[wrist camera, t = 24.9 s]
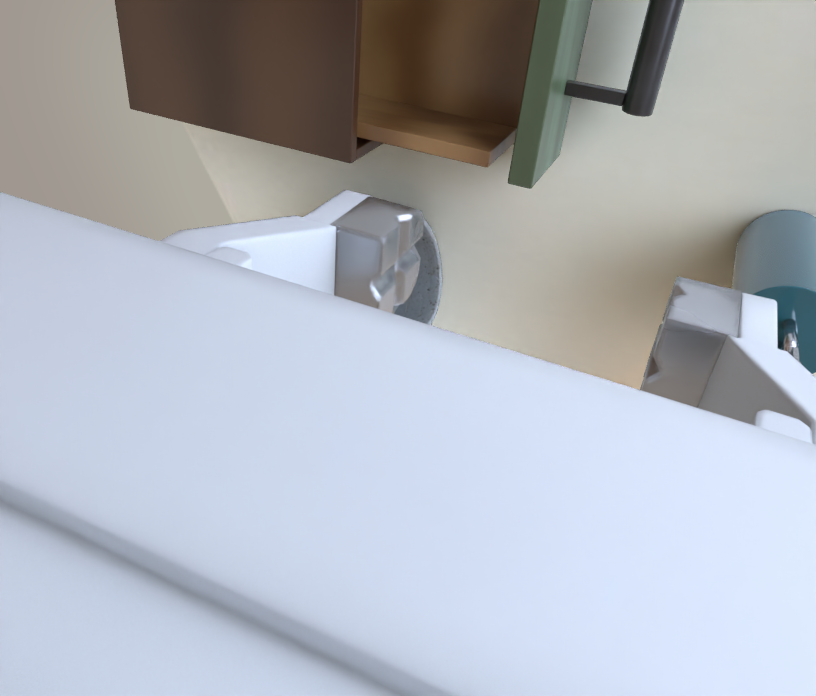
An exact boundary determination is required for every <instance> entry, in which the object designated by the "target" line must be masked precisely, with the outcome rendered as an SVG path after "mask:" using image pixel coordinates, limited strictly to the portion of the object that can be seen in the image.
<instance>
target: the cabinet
mask: <svg viewBox="0 0 816 696" xmlns="http://www.w3.org/2000/svg"><path fill="white" fill-rule="evenodd" d="M115 5H116V12H117V19H118V26H119V33H120V40H121V47H122V54H123V62H124V68H125V76H126V82H127V90H128V97H129V103H130V108H131V109H133V110H137V111H142V112H146V113H149V114H154V115H158V116H162V117H166V118H170V119H174V120H178V121H182V122H186V123H190V124H194V125H198V126H202V127H206V128H210V129H214V130H218V131H222V132H226V133H230V134H234V135H238V136H242V137H246V138H250V139H254V140H258V141H262V142H266V143H270V144H274V145H278V146H283V147H287V148H291V149H295V150H299V151H303V152H307V153H311V154H315V155H319V156H323V157H327V158H331V159H335V160H339V161H343V162H347V163H352V162H354V161H355V160H357V159H359V158H360V157H362V156H364V155H365V154H367V153H368V152H370V151H372V150H373V149H375V148H377V147H378V146H380V145H381V144H383V143H381V142H377V141H372V140H368V139H364V138H360V137H357V123H358V99H359V76H360V52H361V28H362V5H363V0H115Z"/></svg>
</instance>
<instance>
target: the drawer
mask: <svg viewBox="0 0 816 696" xmlns="http://www.w3.org/2000/svg"><path fill="white" fill-rule="evenodd" d="M683 2H684V0H650V1H649V5H648V9H647V13H646V16H645V20H644V24H643V28H642V32H641V36H640V40H639V44H638V48H637V52H636V56H635V60H634V63H633V67H632V71H631V75H630V79H629V83H628V87H627V91H625V90H620V89H615V88H609V87H604V86H599V85H594V84H588V83H583V82H578V81H575V80H576V75H577V70H578V66H579V61H580V56H581V51H582V47H583V42H584V37H585V33H586V28H587V23H588V19H589V14H590V9H591V4H592V0H363V5H362V28H361V52H360V76H359V99H358V123H357V137H360V138H364V139H368V140H372V141H377V142H381V143H385V144H389V145H394V146H398V147H402V148H407V149H411V150H415V151H419V152H424V153H428V154H432V155H436V156H441V157H445V158H449V159H453V160H458V161H462V162H466V163H470V164H475V165H479V166H483V167H489V166H490V165H491V164H492V163H493V162H494V161H495V160H496V159H497V158H498V157H499V156H500V155H501V154H503V153H504V152H505V151H506V150H507V149H508V148H509V147H510V146H511V145H512V144H513V143H514V142H515V143H514V149H513V155H512V161H511V166H510V172H509V178H508V183H509V184H513V185H517V186H521V187H525V188H529V189H531V188H532V187H533V186H534V185H535V183H536V182H537V181H538V180H539V179H540V177H541V176H542V175H543V174H544V173H545V172H546V170H547V169H548V168H549V167H550V166H551V165H552V163H553V162H554V161H555V160H556V159H557V157H558V156H559V155H560V150H561V145H562V141H563V136H564V131H565V127H566V122H567V117H568V112H569V108H570V103H571V98H572V97H577V98H582V99H587V100H593V101H598V102H603V103H608V104H613V105H618V106H622V105H623V106H622V110H623V111H624V112H626V113H628V114H631V115H635V116H650V115H652V113H653V109H654V106H655V102H656V98H657V95H658V91H659V88H660V84H661V81H662V77H663V74H664V70H665V66H666V63H667V59H668V56H669V52H670V49H671V45H672V42H673V38H674V34H675V31H676V27H677V24H678V20H679V17H680V13H681V10H682V6H683Z"/></svg>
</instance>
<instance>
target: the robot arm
mask: <svg viewBox="0 0 816 696" xmlns="http://www.w3.org/2000/svg"><path fill="white" fill-rule="evenodd" d="M423 226H424V217H423V213H422V211H421V210H417V209H414V208H410V207H407V206H403V205H399V204H396V203H392V202H389V201H385V200H381V199H378V198H374V197H372V196H371V195H366V194H362V193H357V192H353V191H349V190H344V191H342V192H341V193H339V194H338V195H336V196H335V197H333V198H332V199H330V200H329V201H327V202H326V203H324V204H322V205H321V206H319V207H318V208H316V209H315V210H313V211H312V212H310V213H309V214H307V215H306V216H304V217H300V216H296V215H295V216H287V217H280V218H272V219H264V220H256V221H249V222H241V223H233V224H226V225H218V226H210V227H202V228H195V229H187V230H180V231H177V232H175V233H174V234H172V235H170V236H168V237H166V238H164V239H163V240H161V241H157V240H154V239H151V238H147V237H144V236H141V235H137V234H134V233H131V232H128V231H125V230H121V229H118V228H115V227H112V226H109V225H105V224H102V223H99V222H96V221H92V220H89V219H86V218H82V217H80V216H76V215H73V214H70V213H67V212H63V211H60V210H57V209H54V208H50V207H47V206H44V205H41V204H37V203H34V202H31V201H28V200H25V199H21V198H18V197H15V196H12V195H8V194H5V193H2V192H0V696H816V377H815V376H814V375H812V374H811V373H810V372H809V371H808V370H807V369H806V368H805V367H804V366H803V365H801V364H800V363H799V362H798V361H797V360H796V359H795V358H794V357H793V356H792V355H790V354H789V353H788V352H787V351H784V350H780V349H778V346H777V302H776V301H775V300H774V299H769V298H765V297H760V296H756V295H751V294H747V293H742V291H738V290H734V289H730V288H725V287H721V286H717V285H713V284H709V283H704V282H700V281H696V280H692V279H687V278H683V277H679V276H677V278H676V280H675V283H674V286H673V289H672V291H671V294H670V297H669V300H668V303H667V306H666V310H665V313H664V317H663V323H662V324H661V325H660V326H659V329H658V332H657V335H656V338H655V342H654V344H653V347H652V350H651V353H650V356H649V359H648V363H647V366H646V370H645V373H644V376H643V377H644V379H643V382H642V385H641V388H640V390H638V389H635V388H632V387H628V386H625V385H622V384H619V383H616V382H612V381H609V380H606V379H603V378H599V377H596V376H593V375H590V374H586V373H583V372H580V371H577V370H574V369H570V368H567V367H564V366H561V365H557V364H554V363H551V362H548V361H544V360H541V359H538V358H535V357H532V356H528V355H525V354H522V353H519V352H515V351H512V350H509V349H506V348H502V347H499V346H496V345H493V344H490V343H486V342H483V341H480V340H477V339H473V338H470V337H467V336H464V335H461V334H457V333H454V332H451V331H448V330H444V329H441V328H438V327H435V326H431V325H428V324H425V323H422V322H419V321H415V320H412V319H409V318H406V317H402V316H399V315H396V314H393V308H394V306H396V305H400V304H403V303H404V302H405V301H406V300H407V299H408V298H409V296H410V295H411V293H412V290H413V288H414V286H415V284H416V281H417V277H418V273H419V267H420V256H419V254H418V252H417V250H416V248H415V246H414V244H415V243H416V242H417V241H418V240H419V239H420V238H421V237H422V236H423Z"/></svg>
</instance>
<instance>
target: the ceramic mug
mask: <svg viewBox="0 0 816 696" xmlns="http://www.w3.org/2000/svg"><path fill="white" fill-rule="evenodd" d="M414 246H415V248H416V250H417V252H418V254H419V256H420V267H419V273H418V277H417V281H416V284H415V286H414V288H413V290H412V293H411V295H410V296H409V298H408V299H407V300H406V301H405V302H404V303H403V304H400V305H396V306H394V308H393V314H396V315H399V316H402V317H406V318H409V319H412V320H415V321H419V322H422V323H425V324H428V325H431V326H432V322H433V320H434V318H435V315H436V313H437V310H438V306H439V302H440V296H441V287H442V267H441V259H440V252H439V249H438V244H437V242H436V238H435V236H434V233H433V231H432V229H431V227H430V225H429V224H428V223H427V222H426V220H425V219H424V226H423V236H422V237H421V238H420V239H419V240H418V241H417V242H416V243H415V244H414Z"/></svg>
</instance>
